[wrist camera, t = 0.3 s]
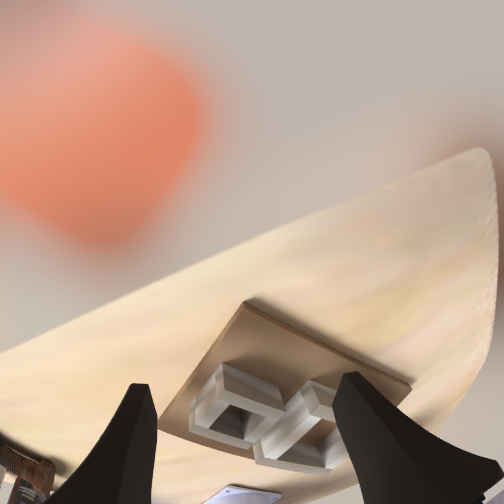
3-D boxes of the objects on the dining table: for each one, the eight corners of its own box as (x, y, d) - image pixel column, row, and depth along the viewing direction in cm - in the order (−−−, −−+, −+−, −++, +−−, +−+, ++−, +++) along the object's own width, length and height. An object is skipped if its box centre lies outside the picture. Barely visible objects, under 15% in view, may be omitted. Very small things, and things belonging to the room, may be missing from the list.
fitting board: (322, 466, 28) (332, 491, 24) (157, 420, 23) (153, 454, 19) (407, 383, 26) (427, 407, 22) (243, 301, 21) (250, 331, 17)
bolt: (-30, 405, 22) (57, 459, 25) (-31, 433, 21) (54, 485, 24) (-50, 413, 17) (44, 477, 20) (-50, 443, 15) (42, 504, 18)
